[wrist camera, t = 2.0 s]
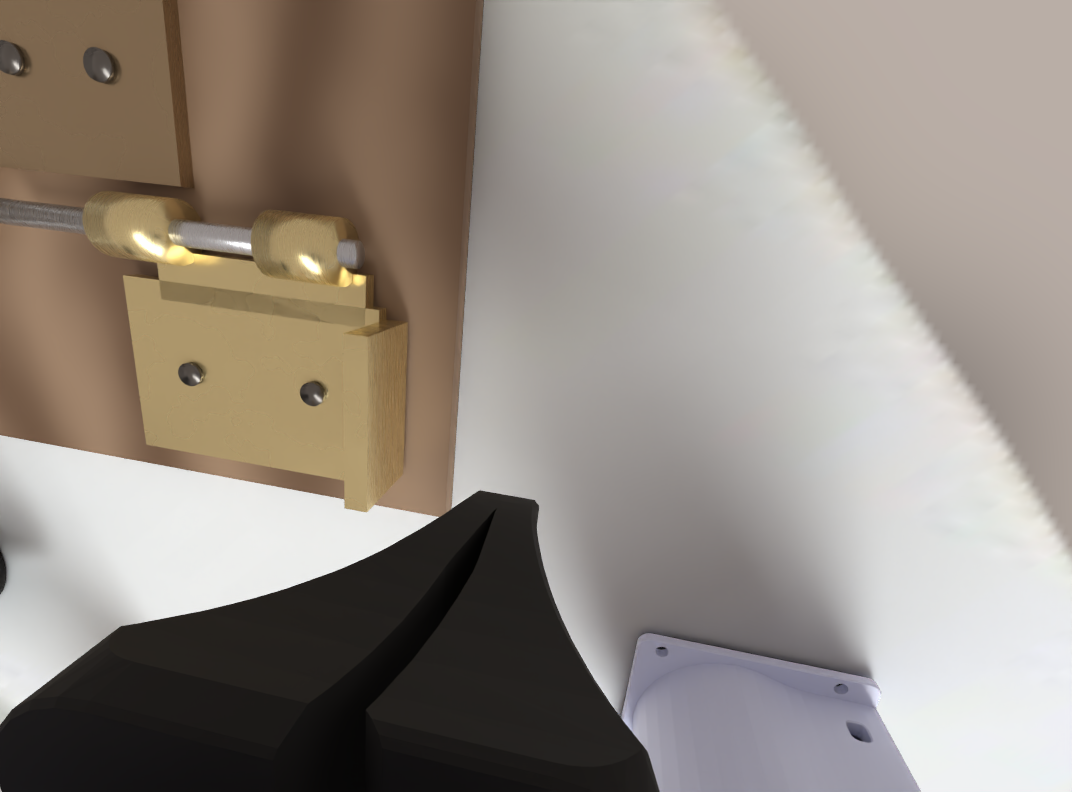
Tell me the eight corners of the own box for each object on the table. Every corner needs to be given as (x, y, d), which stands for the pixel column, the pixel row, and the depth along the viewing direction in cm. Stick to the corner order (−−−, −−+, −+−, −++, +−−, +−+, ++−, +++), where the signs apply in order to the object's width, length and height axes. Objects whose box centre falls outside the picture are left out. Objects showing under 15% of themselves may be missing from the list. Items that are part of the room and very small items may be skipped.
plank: (488, -80, 15) (481, -97, 14) (451, 508, 21) (445, 517, 20) (-187, -105, 18) (-223, -121, 17) (-51, 416, 24) (-72, 421, 24)
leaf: (76, 424, 22) (-6, 451, 19) (31, 181, 19) (-74, 170, 16) (403, 482, 20) (366, 522, 17) (410, 224, 17) (368, 221, 14)
